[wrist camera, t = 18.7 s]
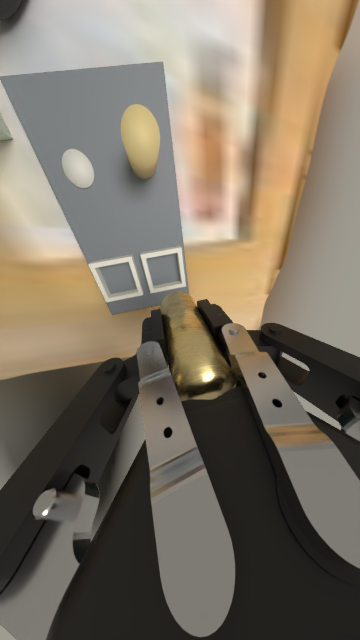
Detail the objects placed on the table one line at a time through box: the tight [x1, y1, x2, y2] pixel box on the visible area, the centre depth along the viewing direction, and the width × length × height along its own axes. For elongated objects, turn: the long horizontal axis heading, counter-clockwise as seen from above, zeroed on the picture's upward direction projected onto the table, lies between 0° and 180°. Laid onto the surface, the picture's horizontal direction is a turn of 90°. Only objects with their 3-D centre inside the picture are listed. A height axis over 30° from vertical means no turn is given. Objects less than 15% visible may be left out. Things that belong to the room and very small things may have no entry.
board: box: [0, 62, 189, 315], centre depth 18 cm, size 14×24×8 cm, turn 8°
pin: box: [161, 291, 235, 401], centre depth 10 cm, size 3×3×8 cm
